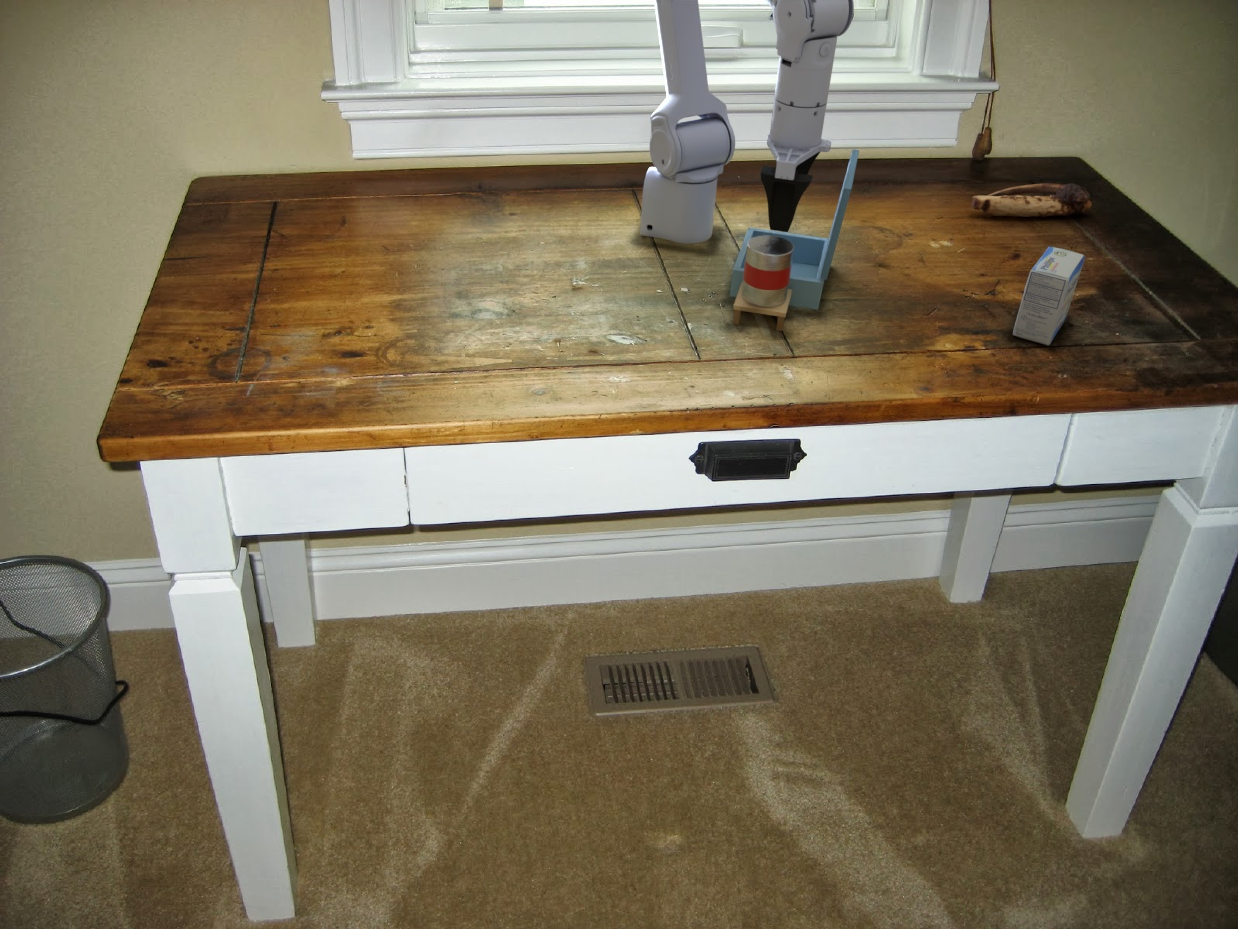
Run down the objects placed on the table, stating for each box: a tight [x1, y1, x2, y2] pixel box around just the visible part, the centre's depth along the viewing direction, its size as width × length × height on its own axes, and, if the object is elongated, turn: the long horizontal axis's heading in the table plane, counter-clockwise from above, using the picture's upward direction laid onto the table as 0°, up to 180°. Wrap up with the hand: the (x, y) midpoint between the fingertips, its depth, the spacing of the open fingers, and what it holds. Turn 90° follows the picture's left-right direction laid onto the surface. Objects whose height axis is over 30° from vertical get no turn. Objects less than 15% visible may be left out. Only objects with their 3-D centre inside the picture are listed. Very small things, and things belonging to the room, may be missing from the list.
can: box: [741, 235, 794, 307], centre depth 122 cm, size 5×5×6 cm
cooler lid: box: [820, 148, 860, 281], centre depth 126 cm, size 11×13×1 cm
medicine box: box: [1012, 246, 1086, 347], centre depth 125 cm, size 8×4×9 cm, turn 148°
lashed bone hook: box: [971, 182, 1093, 218], centre depth 154 cm, size 9×5×18 cm
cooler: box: [729, 226, 829, 311], centre depth 132 cm, size 11×13×4 cm
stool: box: [732, 282, 792, 332], centre depth 125 cm, size 6×6×3 cm
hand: (783, 216), depth 125 cm, fingers open, 7 cm apart
